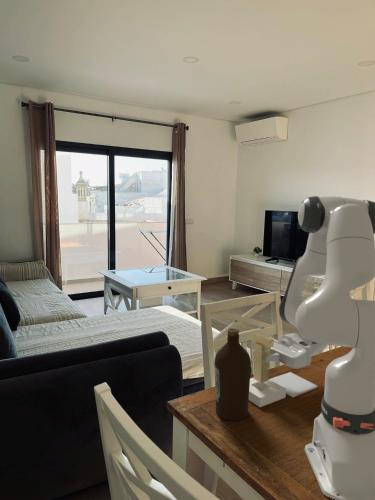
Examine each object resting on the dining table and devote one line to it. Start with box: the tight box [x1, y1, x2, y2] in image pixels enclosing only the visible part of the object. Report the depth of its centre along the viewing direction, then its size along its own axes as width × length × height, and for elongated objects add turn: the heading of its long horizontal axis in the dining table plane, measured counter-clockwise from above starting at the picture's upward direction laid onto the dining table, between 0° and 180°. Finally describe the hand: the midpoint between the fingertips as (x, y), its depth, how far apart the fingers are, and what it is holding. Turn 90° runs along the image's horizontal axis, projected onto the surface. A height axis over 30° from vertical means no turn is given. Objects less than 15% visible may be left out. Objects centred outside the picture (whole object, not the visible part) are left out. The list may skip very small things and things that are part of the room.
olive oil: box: [213, 327, 252, 421], centre depth 105 cm, size 11×11×25 cm
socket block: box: [248, 377, 287, 408], centre depth 116 cm, size 11×11×3 cm
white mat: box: [269, 371, 319, 398], centre depth 123 cm, size 12×12×1 cm
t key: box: [250, 331, 275, 383], centre depth 114 cm, size 8×3×14 cm, turn 32°
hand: (259, 355), depth 114 cm, fingers closed on t key, 3 cm apart
